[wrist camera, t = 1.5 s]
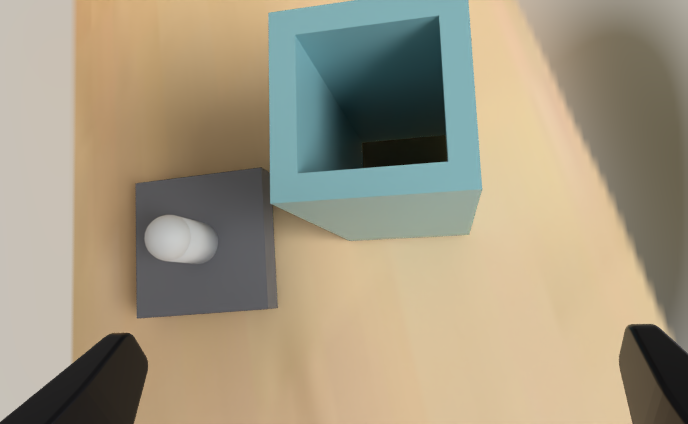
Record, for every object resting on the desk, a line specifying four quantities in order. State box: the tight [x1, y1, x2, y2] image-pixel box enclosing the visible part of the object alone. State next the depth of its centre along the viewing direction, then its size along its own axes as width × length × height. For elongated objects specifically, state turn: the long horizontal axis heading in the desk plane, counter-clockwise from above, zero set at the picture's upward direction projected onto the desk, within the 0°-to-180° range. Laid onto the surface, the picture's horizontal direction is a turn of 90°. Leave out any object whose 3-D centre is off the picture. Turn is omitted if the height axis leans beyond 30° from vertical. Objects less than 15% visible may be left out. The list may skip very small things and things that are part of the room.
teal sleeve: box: [269, 0, 482, 241], centre depth 17 cm, size 5×5×10 cm
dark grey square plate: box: [136, 168, 278, 318], centre depth 21 cm, size 6×6×4 cm
